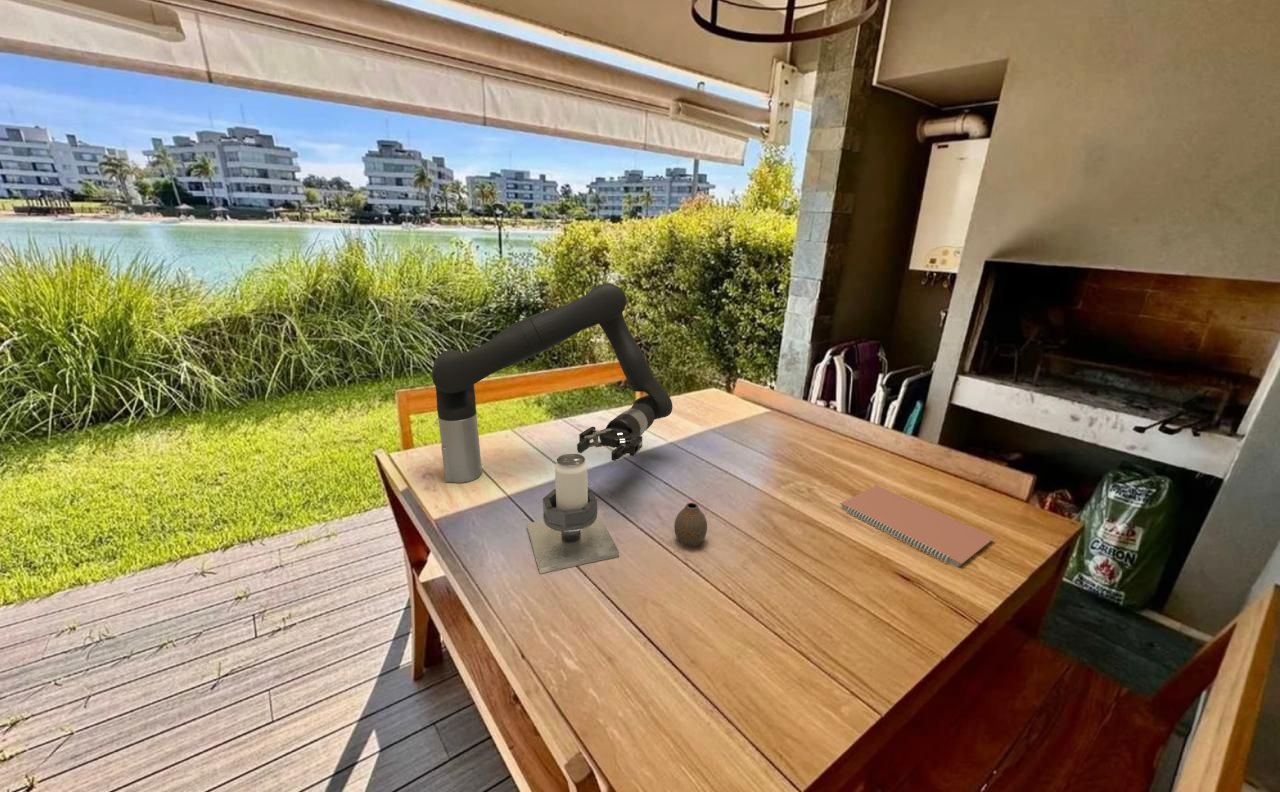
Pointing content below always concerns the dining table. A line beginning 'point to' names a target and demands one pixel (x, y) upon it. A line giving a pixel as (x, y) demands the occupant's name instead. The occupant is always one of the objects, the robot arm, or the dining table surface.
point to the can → (571, 482)
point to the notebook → (917, 525)
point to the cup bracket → (570, 536)
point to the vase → (690, 525)
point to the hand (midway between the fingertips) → (595, 453)
